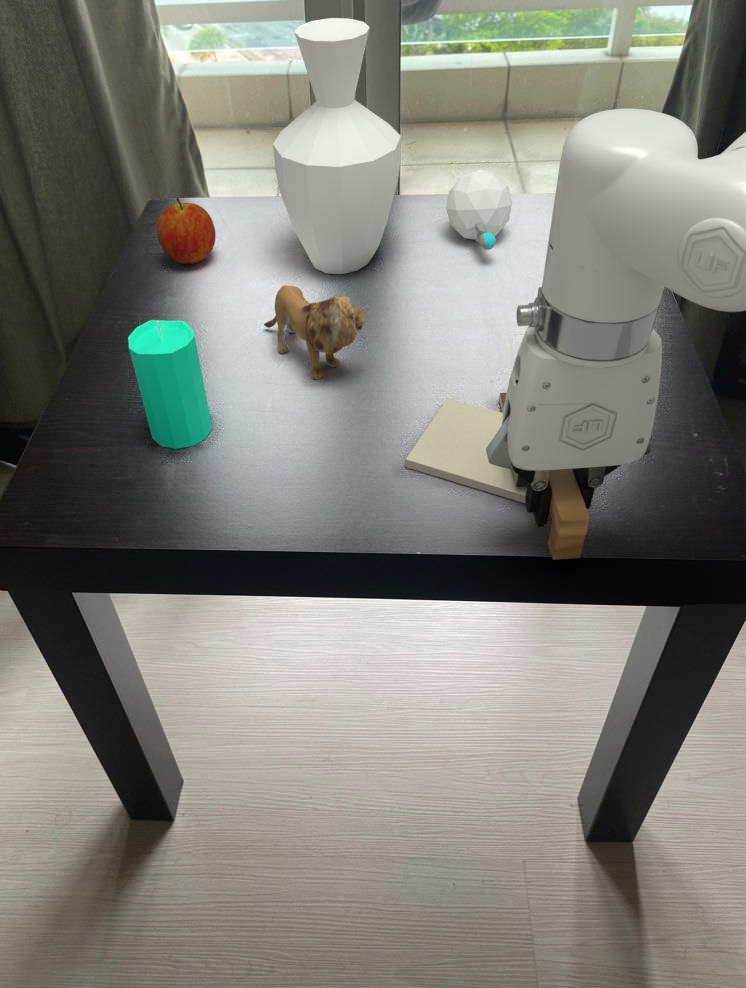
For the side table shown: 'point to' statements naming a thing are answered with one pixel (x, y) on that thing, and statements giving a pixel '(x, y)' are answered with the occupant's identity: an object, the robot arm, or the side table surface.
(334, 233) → the vase
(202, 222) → the fruit
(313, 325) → the lion figurine
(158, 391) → the candle
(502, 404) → the mud flake
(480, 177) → the perfume bottle
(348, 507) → the side table surface
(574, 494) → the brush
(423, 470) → the tile
